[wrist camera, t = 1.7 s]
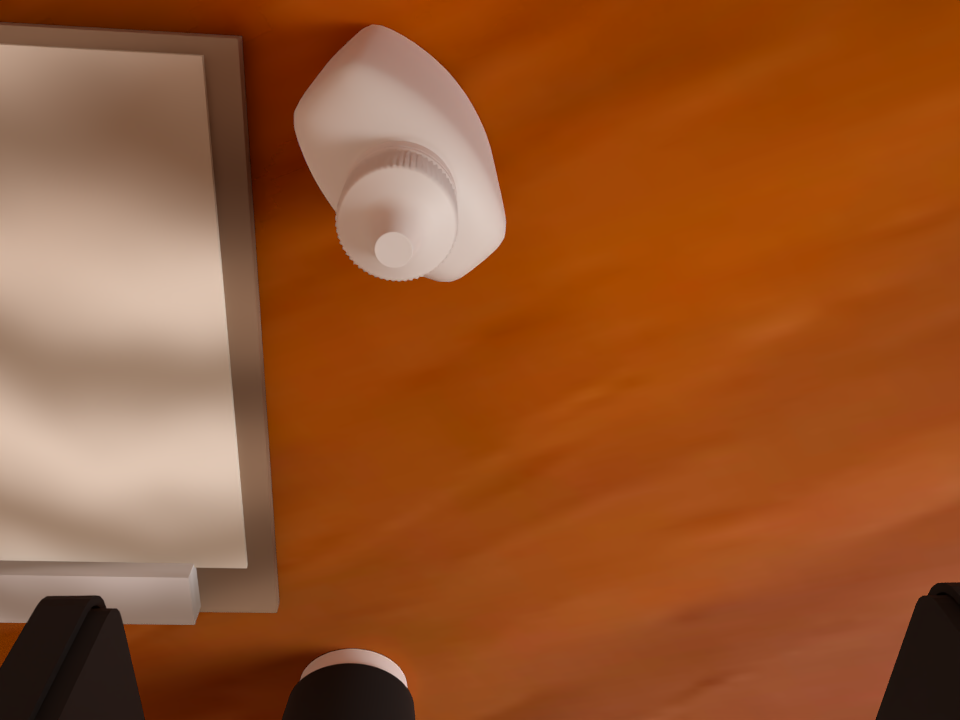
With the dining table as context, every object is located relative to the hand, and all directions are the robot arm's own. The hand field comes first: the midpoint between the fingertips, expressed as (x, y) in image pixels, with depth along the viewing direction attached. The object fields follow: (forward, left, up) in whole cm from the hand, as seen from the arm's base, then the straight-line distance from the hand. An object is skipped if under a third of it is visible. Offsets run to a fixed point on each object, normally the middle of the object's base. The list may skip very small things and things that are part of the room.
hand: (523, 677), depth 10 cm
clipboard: (+6, -15, -19) cm, 25 cm away
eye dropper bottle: (-3, -2, -20) cm, 20 cm away
